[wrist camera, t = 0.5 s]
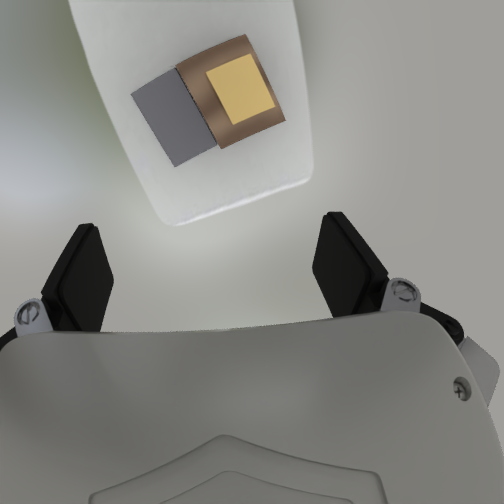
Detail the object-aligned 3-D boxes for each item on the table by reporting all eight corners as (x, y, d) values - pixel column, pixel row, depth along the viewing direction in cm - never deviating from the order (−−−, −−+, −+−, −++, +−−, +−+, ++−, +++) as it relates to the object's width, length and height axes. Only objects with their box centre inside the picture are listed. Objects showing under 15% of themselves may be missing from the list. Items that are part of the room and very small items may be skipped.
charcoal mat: (131, 94, 32) (130, 94, 32) (175, 67, 31) (174, 67, 31) (175, 166, 41) (174, 167, 40) (217, 143, 39) (217, 144, 39)
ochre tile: (205, 72, 29) (205, 72, 27) (247, 54, 28) (250, 53, 26) (231, 121, 34) (232, 124, 32) (271, 104, 33) (275, 106, 31)
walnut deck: (178, 66, 31) (175, 65, 28) (242, 37, 30) (245, 34, 26) (220, 142, 39) (221, 149, 36) (279, 116, 38) (285, 120, 35)
